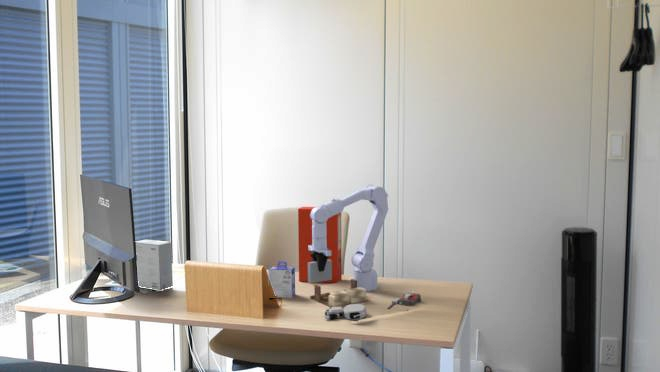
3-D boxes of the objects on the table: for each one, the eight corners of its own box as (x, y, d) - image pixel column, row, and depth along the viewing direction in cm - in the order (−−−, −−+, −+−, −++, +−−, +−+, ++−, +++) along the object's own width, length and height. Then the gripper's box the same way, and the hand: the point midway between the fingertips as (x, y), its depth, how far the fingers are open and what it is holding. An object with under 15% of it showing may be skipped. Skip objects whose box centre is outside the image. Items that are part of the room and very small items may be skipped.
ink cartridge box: (296, 296, 287) (295, 261, 285) (292, 300, 281) (292, 264, 280) (272, 295, 289) (271, 260, 287) (268, 299, 283) (267, 263, 282)
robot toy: (324, 326, 251) (367, 323, 251) (323, 314, 251) (366, 310, 250) (326, 316, 263) (366, 313, 263) (325, 304, 263) (365, 301, 262)
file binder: (304, 277, 319) (303, 206, 315) (341, 279, 314) (341, 207, 311) (298, 281, 311) (297, 208, 307) (337, 283, 307) (336, 210, 303)
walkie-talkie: (400, 299, 284) (385, 312, 265) (400, 288, 283) (385, 301, 265) (422, 301, 280) (407, 315, 262) (422, 290, 280) (407, 303, 261)
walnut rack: (348, 294, 290) (348, 277, 289) (371, 303, 276) (371, 285, 275) (310, 300, 280) (309, 283, 279) (331, 310, 267) (331, 292, 266)
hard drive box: (173, 288, 301) (172, 242, 299) (160, 292, 295) (158, 245, 292) (147, 283, 309) (145, 238, 307) (134, 287, 303) (132, 241, 301)
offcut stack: (360, 298, 279) (360, 287, 279) (366, 300, 276) (365, 289, 276) (328, 304, 272) (328, 292, 271) (334, 306, 268) (334, 295, 268)
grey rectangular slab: (329, 278, 290) (329, 259, 289) (331, 279, 288) (331, 260, 287) (308, 282, 285) (307, 262, 284) (310, 283, 283) (310, 263, 282)
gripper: (301, 235, 289) (302, 268, 290) (320, 241, 276) (320, 275, 278) (316, 233, 292) (317, 266, 294) (335, 239, 280) (335, 273, 282)
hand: (319, 270), depth 286 cm, fingers closed on grey rectangular slab, 2 cm apart
